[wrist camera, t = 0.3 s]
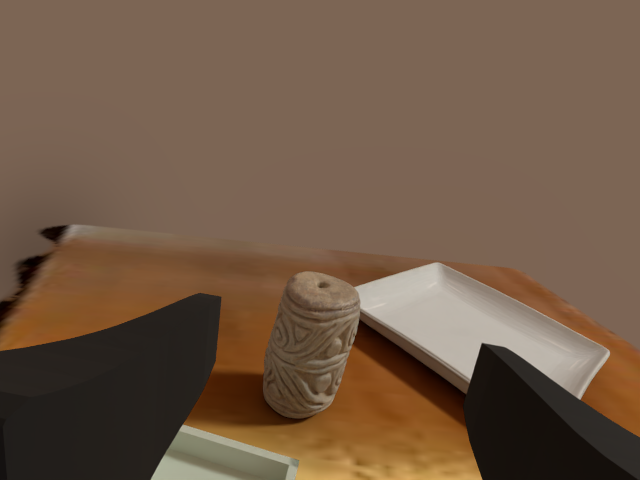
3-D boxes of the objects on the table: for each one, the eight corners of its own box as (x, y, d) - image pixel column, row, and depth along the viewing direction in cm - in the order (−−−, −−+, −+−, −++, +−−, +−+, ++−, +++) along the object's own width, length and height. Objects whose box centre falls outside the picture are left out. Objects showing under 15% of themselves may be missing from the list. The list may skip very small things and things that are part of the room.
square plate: (327, 316, 55) (334, 290, 53) (431, 279, 75) (439, 259, 73) (541, 470, 39) (560, 438, 38) (601, 370, 59) (614, 347, 58)
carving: (240, 391, 38) (266, 272, 34) (303, 367, 44) (332, 261, 39) (283, 442, 34) (319, 314, 30) (347, 409, 40) (384, 296, 35)
